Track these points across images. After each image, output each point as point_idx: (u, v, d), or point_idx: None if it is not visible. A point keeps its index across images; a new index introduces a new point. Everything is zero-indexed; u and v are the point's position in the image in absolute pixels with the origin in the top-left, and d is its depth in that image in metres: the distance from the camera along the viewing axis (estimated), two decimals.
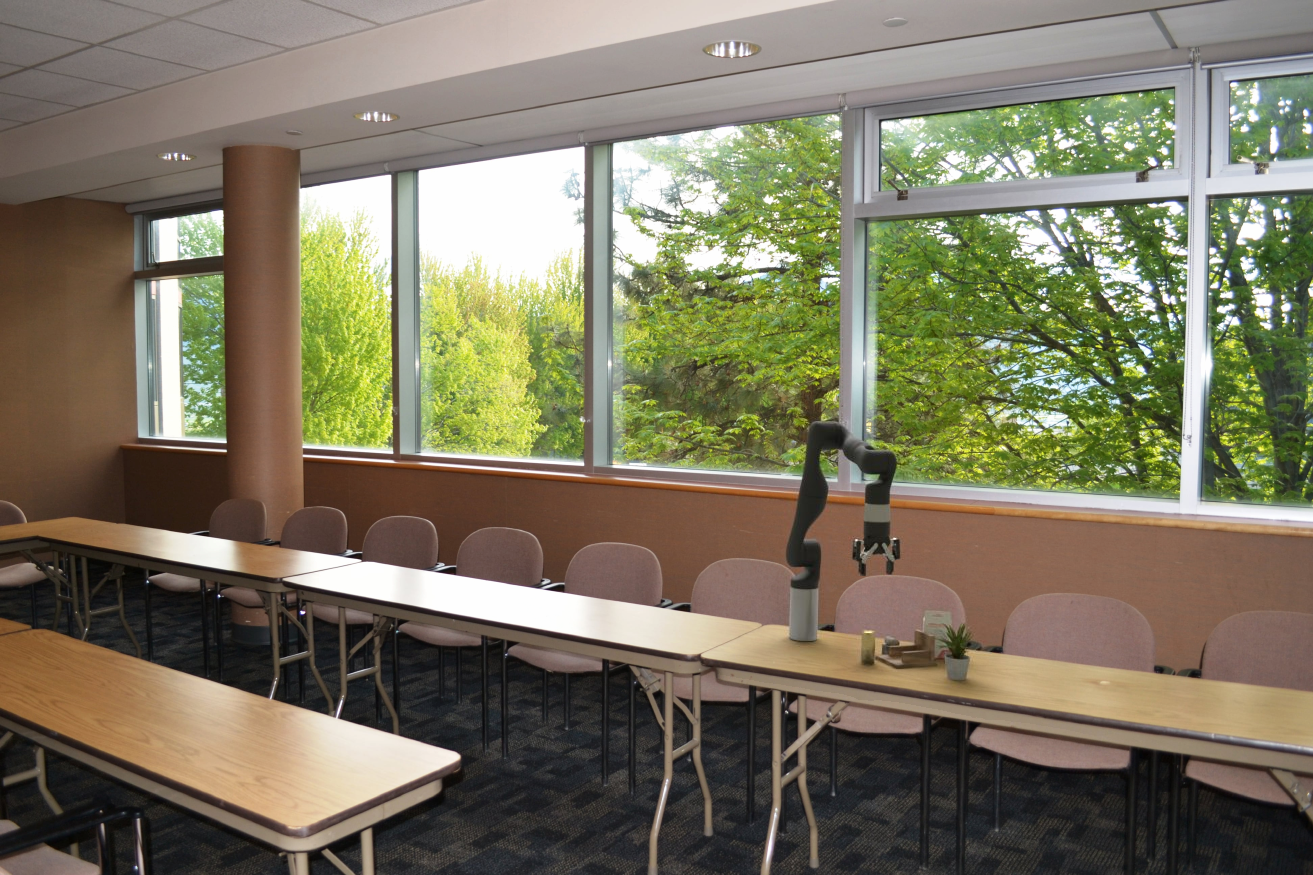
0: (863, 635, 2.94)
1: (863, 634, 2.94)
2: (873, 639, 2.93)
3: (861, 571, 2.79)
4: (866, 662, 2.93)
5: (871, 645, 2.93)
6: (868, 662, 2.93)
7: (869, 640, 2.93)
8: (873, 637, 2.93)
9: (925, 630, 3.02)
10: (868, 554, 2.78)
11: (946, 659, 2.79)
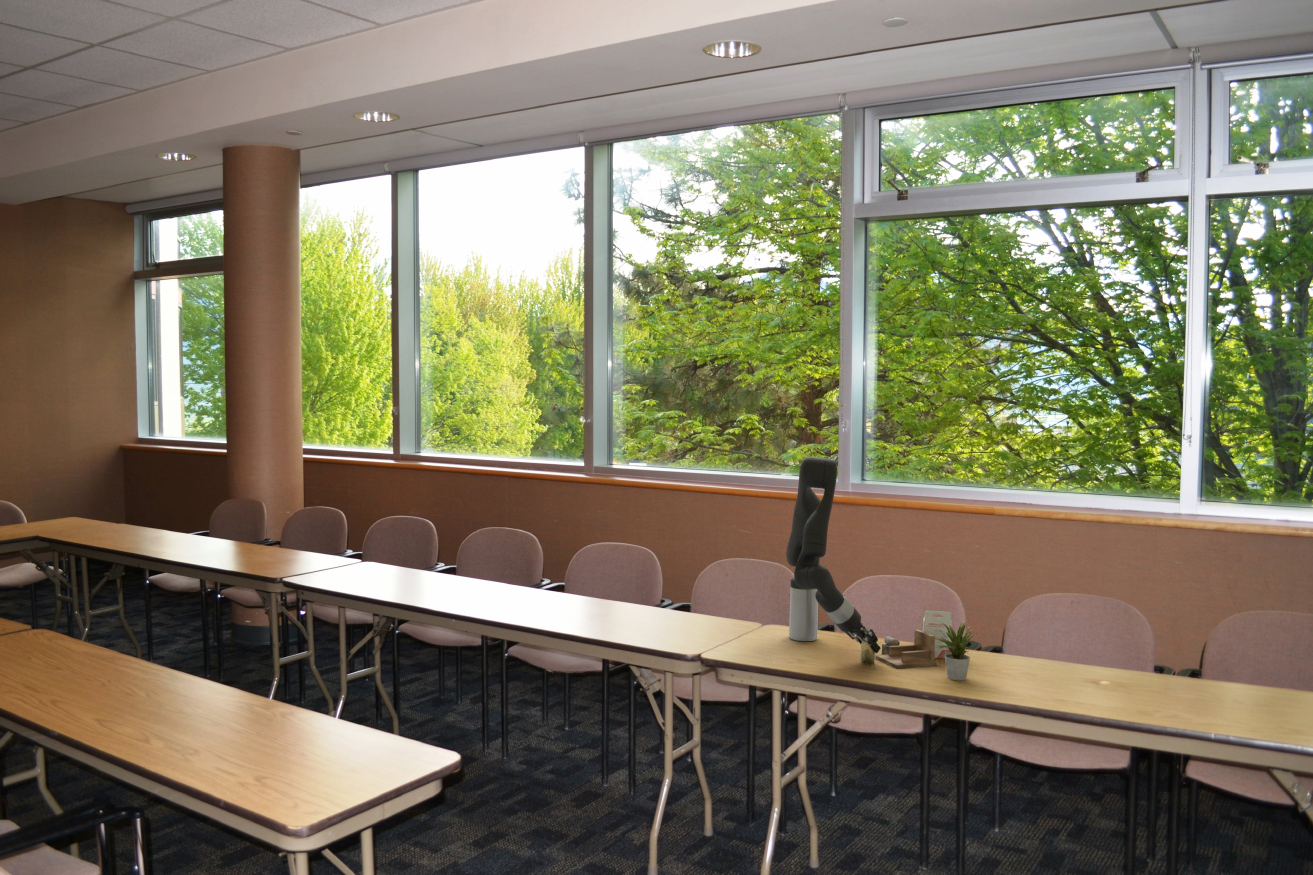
0: None
1: None
2: None
3: None
4: (866, 662, 2.93)
5: None
6: (868, 662, 2.93)
7: None
8: None
9: (925, 630, 3.02)
10: (853, 637, 2.95)
11: (946, 659, 2.79)
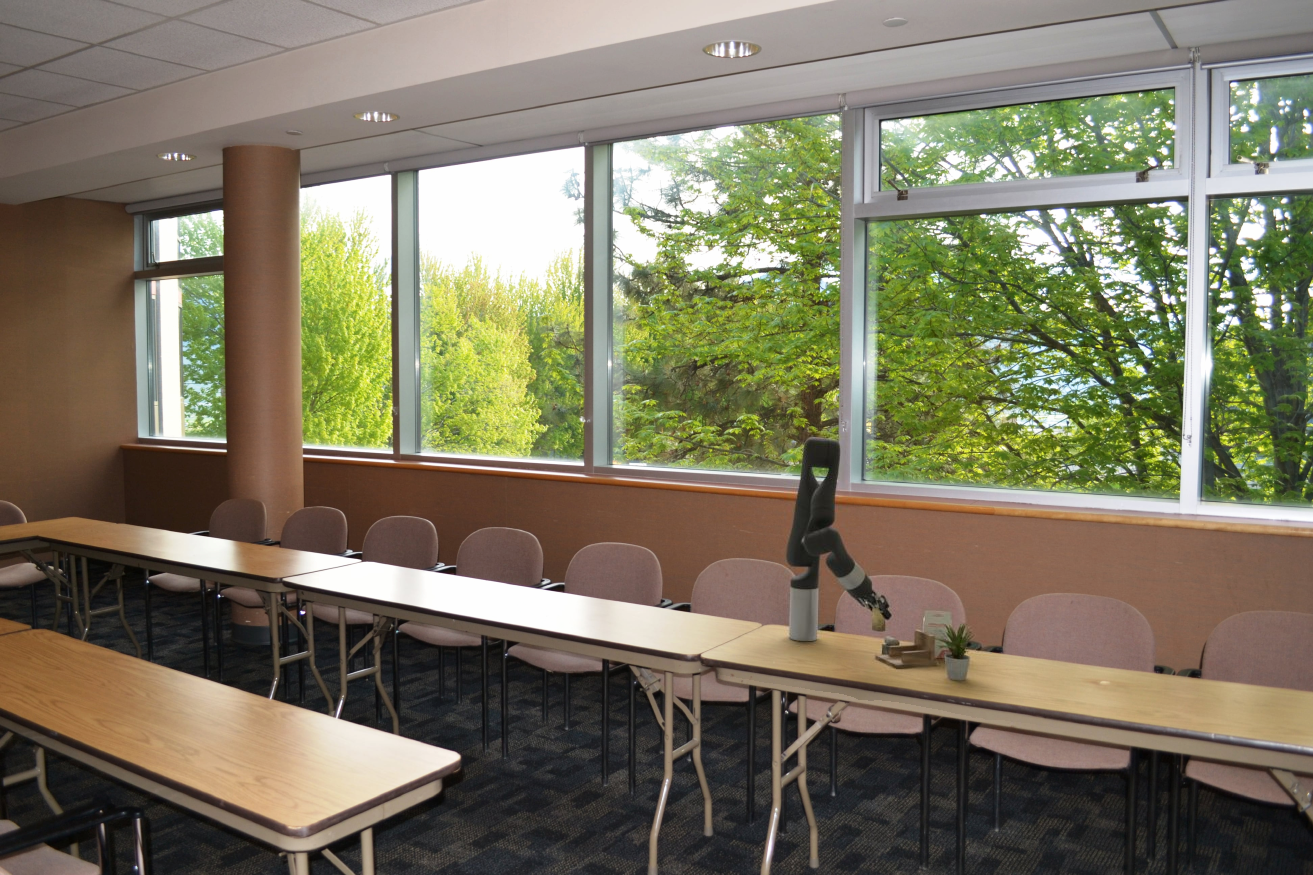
0: None
1: None
2: None
3: None
4: (877, 629, 2.89)
5: None
6: (879, 629, 2.89)
7: None
8: None
9: (925, 630, 3.02)
10: (863, 604, 2.91)
11: (946, 659, 2.79)
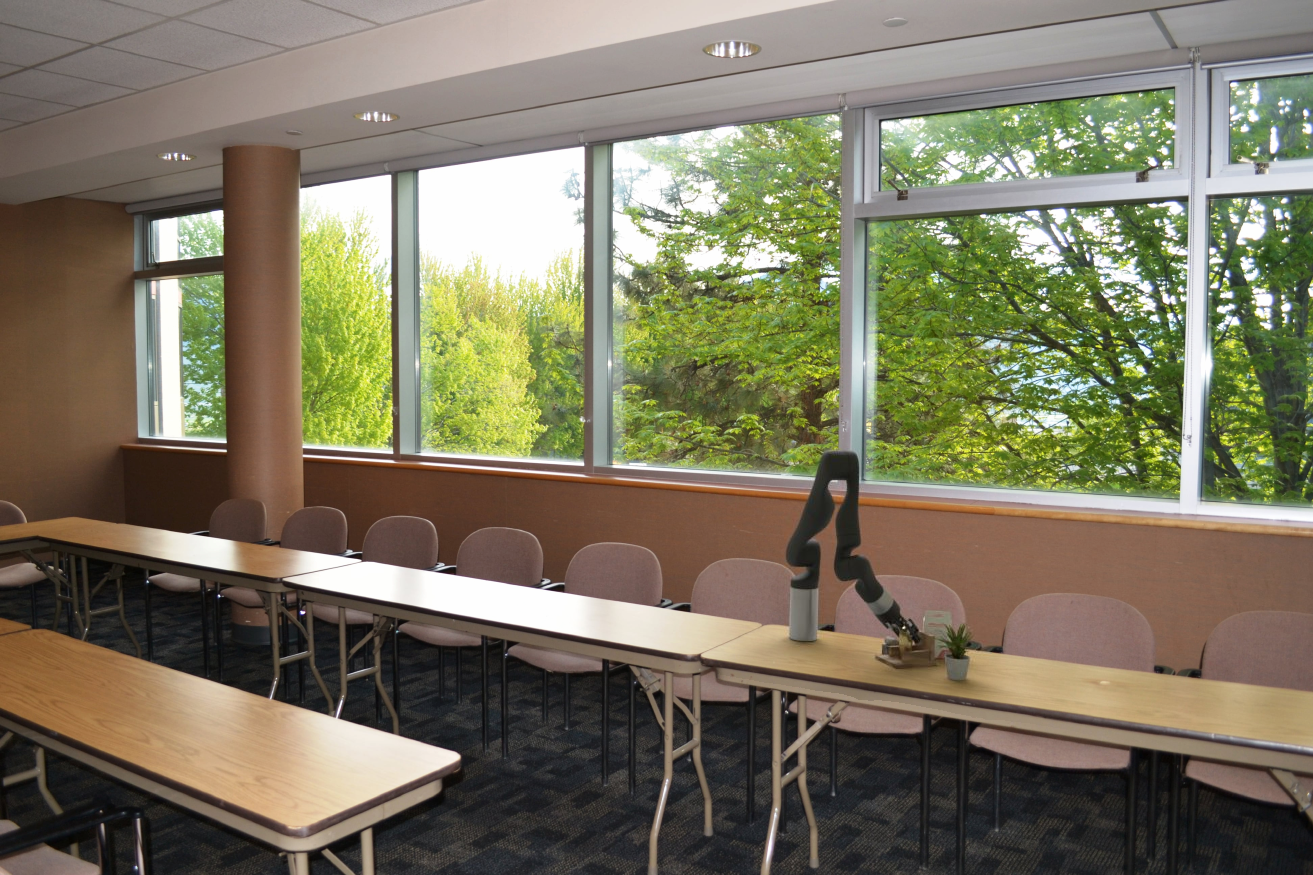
0: (900, 631, 2.95)
1: None
2: None
3: (897, 634, 3.00)
4: None
5: (909, 641, 2.94)
6: None
7: (907, 636, 2.94)
8: None
9: (925, 630, 3.02)
10: (889, 627, 2.97)
11: (946, 659, 2.79)
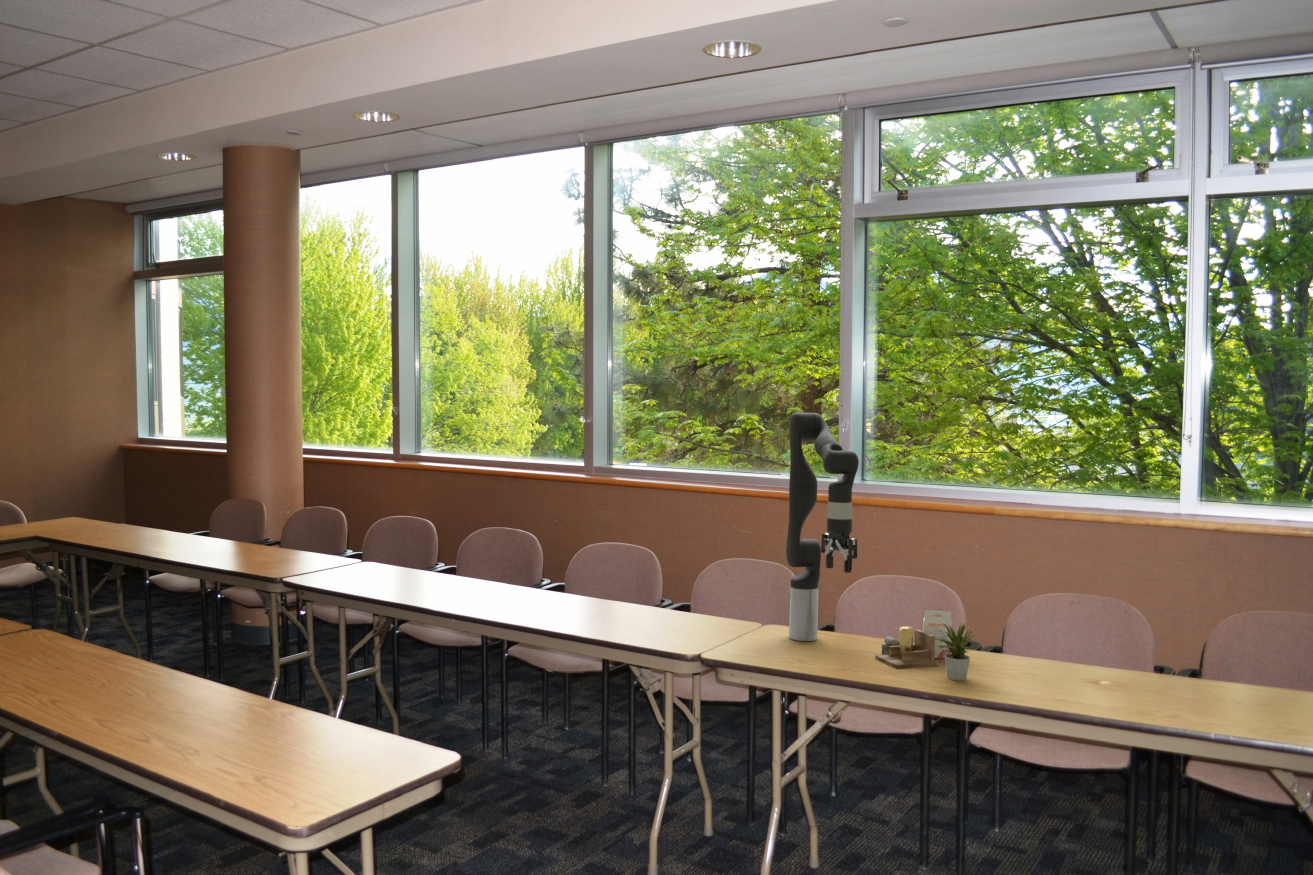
0: (901, 631, 2.95)
1: (901, 630, 2.95)
2: (911, 635, 2.95)
3: (826, 563, 2.98)
4: None
5: (909, 641, 2.94)
6: None
7: (908, 636, 2.94)
8: (911, 633, 2.95)
9: (925, 630, 3.02)
10: (827, 548, 2.96)
11: (946, 659, 2.79)
